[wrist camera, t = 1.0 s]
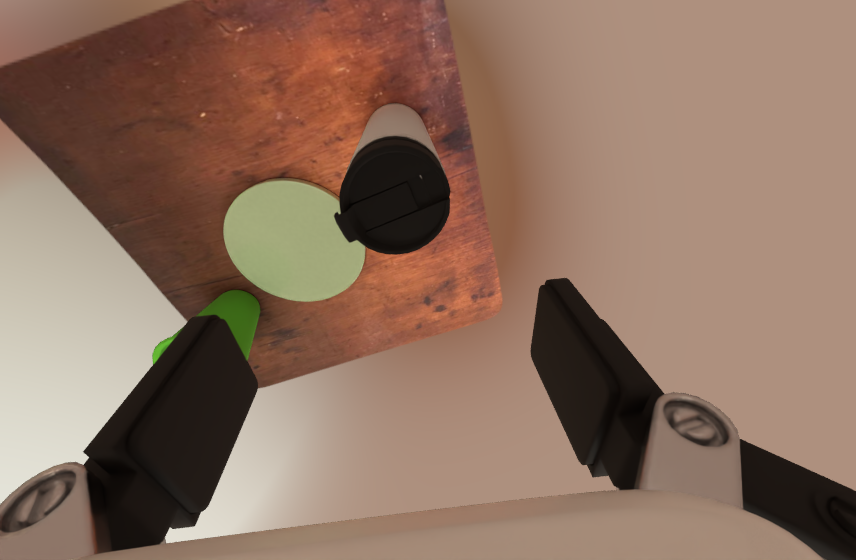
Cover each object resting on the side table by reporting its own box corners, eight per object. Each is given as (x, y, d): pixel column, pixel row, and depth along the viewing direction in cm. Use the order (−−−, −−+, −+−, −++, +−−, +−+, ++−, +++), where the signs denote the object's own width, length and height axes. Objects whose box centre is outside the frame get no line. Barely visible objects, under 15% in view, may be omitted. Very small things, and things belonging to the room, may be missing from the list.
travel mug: (351, 119, 33) (307, 178, 17) (413, 92, 32) (431, 126, 16) (378, 177, 37) (364, 275, 20) (434, 154, 36) (468, 237, 19)
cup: (280, 286, 43) (249, 346, 34) (272, 335, 48) (242, 401, 39) (203, 268, 41) (148, 327, 32) (202, 322, 45) (154, 388, 36)
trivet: (202, 184, 36) (197, 187, 35) (352, 171, 36) (351, 173, 35) (255, 303, 44) (253, 307, 44) (375, 290, 45) (374, 295, 44)
